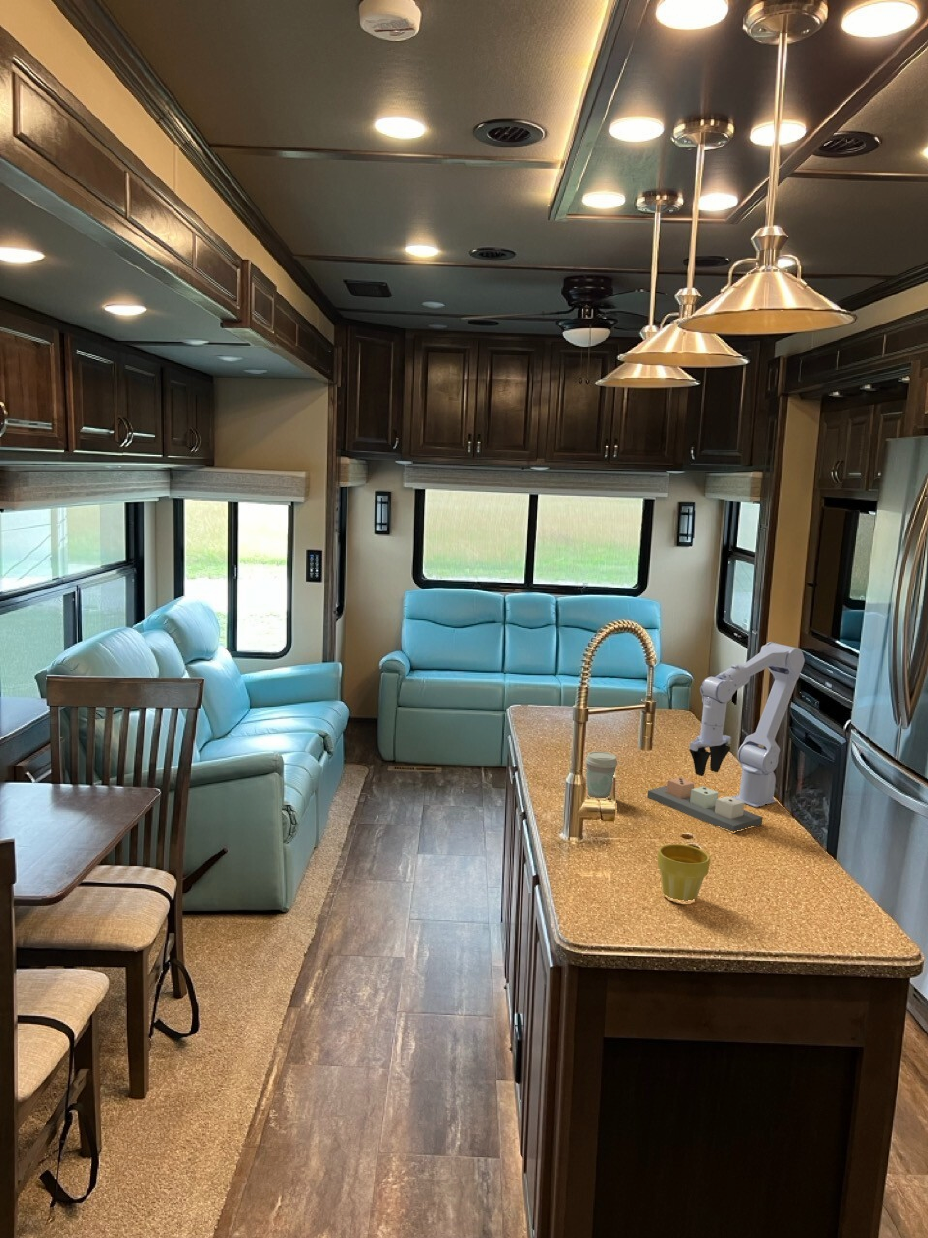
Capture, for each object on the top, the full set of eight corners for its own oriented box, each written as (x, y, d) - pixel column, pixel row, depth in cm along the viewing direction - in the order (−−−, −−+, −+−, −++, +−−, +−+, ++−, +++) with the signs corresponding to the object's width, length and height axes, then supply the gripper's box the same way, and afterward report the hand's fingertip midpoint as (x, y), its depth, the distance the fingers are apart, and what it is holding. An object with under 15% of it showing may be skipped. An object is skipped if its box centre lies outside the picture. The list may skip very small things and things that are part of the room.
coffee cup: (577, 799, 241) (581, 756, 239) (588, 790, 249) (592, 748, 247) (607, 806, 237) (612, 763, 235) (618, 797, 245) (622, 754, 243)
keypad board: (676, 790, 254) (676, 783, 253) (761, 824, 232) (762, 817, 231) (647, 797, 246) (648, 790, 246) (733, 833, 224) (734, 826, 224)
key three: (678, 791, 248) (679, 776, 248) (692, 797, 245) (694, 782, 244) (666, 794, 245) (667, 779, 245) (680, 800, 242) (682, 785, 241)
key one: (726, 810, 236) (728, 795, 235) (742, 817, 232) (744, 801, 231) (714, 814, 233) (716, 798, 232) (730, 820, 229) (732, 804, 228)
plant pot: (668, 881, 195) (672, 839, 193) (713, 898, 189) (718, 854, 187) (645, 897, 187) (649, 852, 185) (691, 914, 181) (696, 868, 179)
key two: (701, 800, 242) (703, 785, 242) (717, 806, 238) (718, 791, 238) (689, 803, 239) (691, 788, 239) (705, 810, 235) (706, 794, 235)
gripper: (717, 716, 243) (711, 764, 245) (682, 722, 234) (677, 772, 236) (739, 723, 237) (733, 772, 239) (704, 729, 228) (698, 781, 231)
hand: (707, 773), depth 237 cm, fingers open, 6 cm apart
